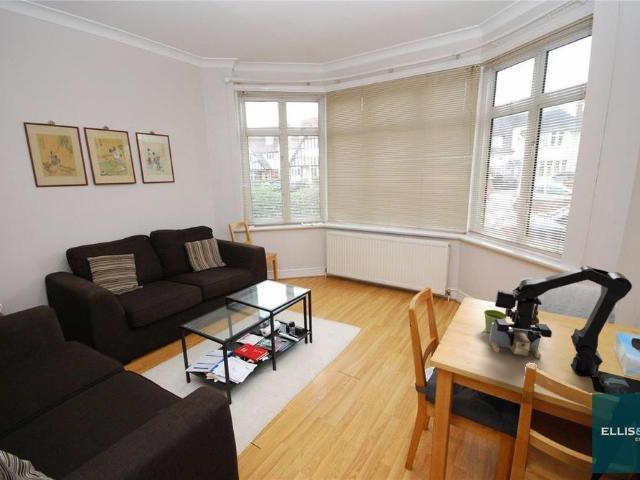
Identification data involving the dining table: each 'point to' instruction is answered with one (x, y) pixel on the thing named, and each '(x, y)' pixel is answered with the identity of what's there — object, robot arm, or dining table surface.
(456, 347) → the dining table surface
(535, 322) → the wooden figurine
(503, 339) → the grey toy bench
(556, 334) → the dining table surface
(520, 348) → the cabinet block
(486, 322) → the plant pot
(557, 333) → the dining table surface
